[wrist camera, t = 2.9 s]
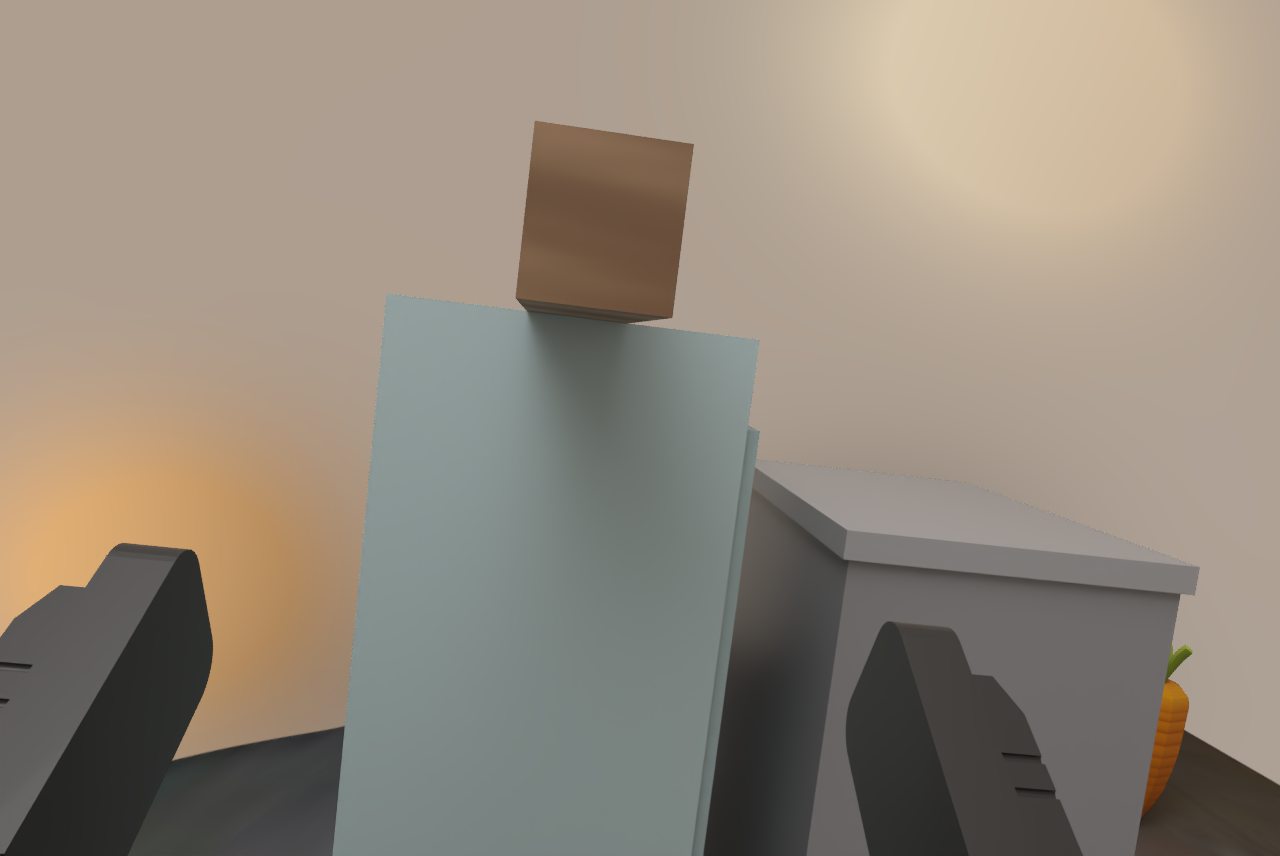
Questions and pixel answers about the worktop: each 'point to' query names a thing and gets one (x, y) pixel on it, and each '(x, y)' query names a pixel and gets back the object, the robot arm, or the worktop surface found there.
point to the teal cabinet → (544, 585)
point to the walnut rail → (602, 224)
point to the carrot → (1167, 731)
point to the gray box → (939, 596)
